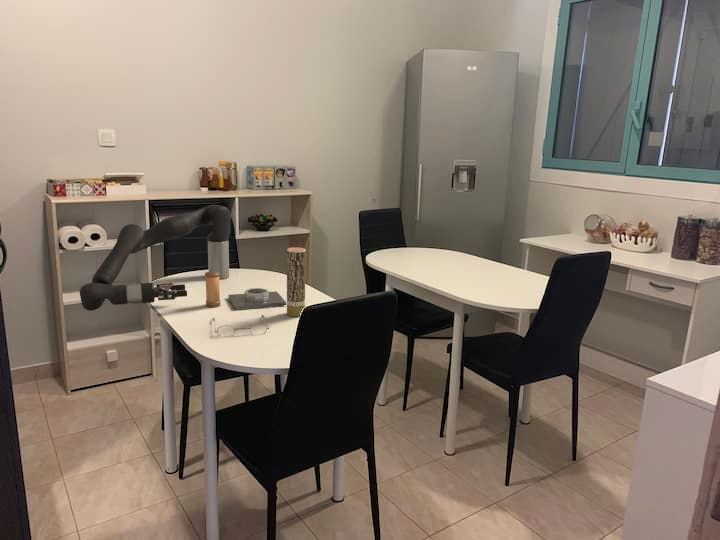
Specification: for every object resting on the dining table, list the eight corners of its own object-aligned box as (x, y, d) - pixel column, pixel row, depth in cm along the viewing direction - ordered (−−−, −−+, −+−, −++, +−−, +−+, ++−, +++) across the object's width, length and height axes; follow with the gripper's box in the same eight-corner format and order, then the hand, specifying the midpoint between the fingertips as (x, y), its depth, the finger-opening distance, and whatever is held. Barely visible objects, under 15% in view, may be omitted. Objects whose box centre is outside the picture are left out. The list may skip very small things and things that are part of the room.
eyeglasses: (214, 338, 187) (214, 326, 186) (212, 321, 205) (212, 310, 204) (269, 334, 192) (269, 323, 191) (262, 318, 210) (262, 308, 209)
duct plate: (228, 298, 229) (228, 287, 228) (276, 294, 236) (276, 284, 235) (234, 310, 215) (234, 298, 214) (286, 305, 222) (286, 294, 221)
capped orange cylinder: (205, 304, 221) (204, 271, 218) (219, 302, 223) (218, 271, 220) (206, 308, 216) (205, 275, 213) (221, 306, 218) (220, 274, 215)
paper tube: (297, 310, 217) (297, 246, 211) (308, 314, 212) (309, 249, 206) (283, 313, 212) (283, 248, 206) (294, 318, 208) (294, 252, 202)
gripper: (140, 288, 201) (187, 285, 207) (139, 278, 214) (184, 275, 220) (141, 308, 203) (188, 304, 209) (140, 297, 216) (184, 294, 222)
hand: (186, 290), depth 214 cm, fingers open, 8 cm apart
